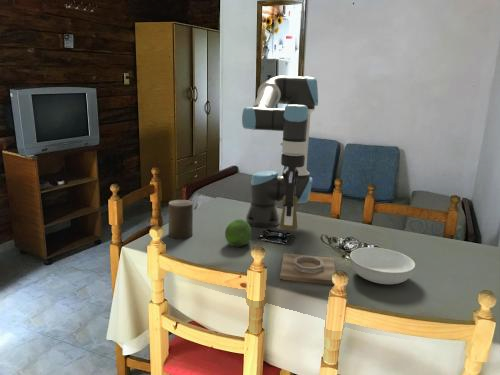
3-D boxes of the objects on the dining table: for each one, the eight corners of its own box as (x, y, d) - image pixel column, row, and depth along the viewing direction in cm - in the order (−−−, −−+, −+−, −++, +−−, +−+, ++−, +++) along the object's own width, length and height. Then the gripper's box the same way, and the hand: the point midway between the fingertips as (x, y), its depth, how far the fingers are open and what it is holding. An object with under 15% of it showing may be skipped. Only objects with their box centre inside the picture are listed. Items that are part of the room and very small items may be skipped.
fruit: (234, 235, 173) (235, 212, 171) (257, 239, 170) (258, 215, 168) (220, 248, 160) (220, 223, 157) (244, 252, 156) (245, 227, 154)
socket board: (283, 257, 154) (284, 249, 153) (333, 261, 152) (333, 253, 151) (279, 279, 137) (280, 270, 136) (335, 285, 134) (336, 276, 134)
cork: (296, 231, 138) (298, 198, 135) (278, 228, 139) (279, 197, 136) (298, 225, 143) (300, 194, 141) (281, 223, 145) (282, 192, 142)
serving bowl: (426, 288, 134) (429, 269, 133) (369, 296, 128) (371, 275, 127) (388, 261, 154) (390, 244, 152) (337, 267, 148) (338, 248, 146)
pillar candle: (185, 240, 166) (186, 204, 162) (164, 236, 169) (164, 201, 165) (196, 232, 175) (197, 198, 171) (175, 229, 178) (175, 195, 174)
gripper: (284, 148, 144) (280, 213, 150) (278, 157, 127) (274, 230, 133) (306, 150, 143) (301, 215, 149) (303, 159, 126) (298, 232, 132)
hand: (288, 222), depth 141 cm, fingers closed on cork, 5 cm apart
